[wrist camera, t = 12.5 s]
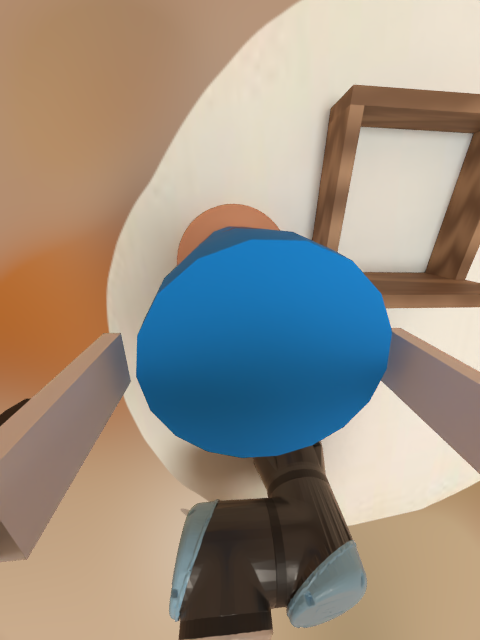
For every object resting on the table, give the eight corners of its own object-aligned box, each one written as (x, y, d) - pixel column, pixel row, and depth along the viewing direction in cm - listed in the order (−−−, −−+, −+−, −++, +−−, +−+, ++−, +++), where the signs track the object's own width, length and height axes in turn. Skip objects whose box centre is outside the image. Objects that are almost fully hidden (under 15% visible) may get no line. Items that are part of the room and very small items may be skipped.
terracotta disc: (281, 314, 37) (282, 316, 36) (183, 315, 35) (182, 318, 35) (292, 206, 30) (294, 205, 30) (173, 202, 29) (171, 202, 28)
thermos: (260, 307, 35) (338, 466, 12) (192, 296, 33) (129, 454, 10) (279, 234, 31) (448, 265, 8) (201, 217, 29) (133, 194, 6)
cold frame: (430, 281, 37) (520, 306, 26) (306, 281, 35) (345, 308, 24) (489, 119, 28) (660, 52, 17) (330, 108, 27) (408, 27, 16)
